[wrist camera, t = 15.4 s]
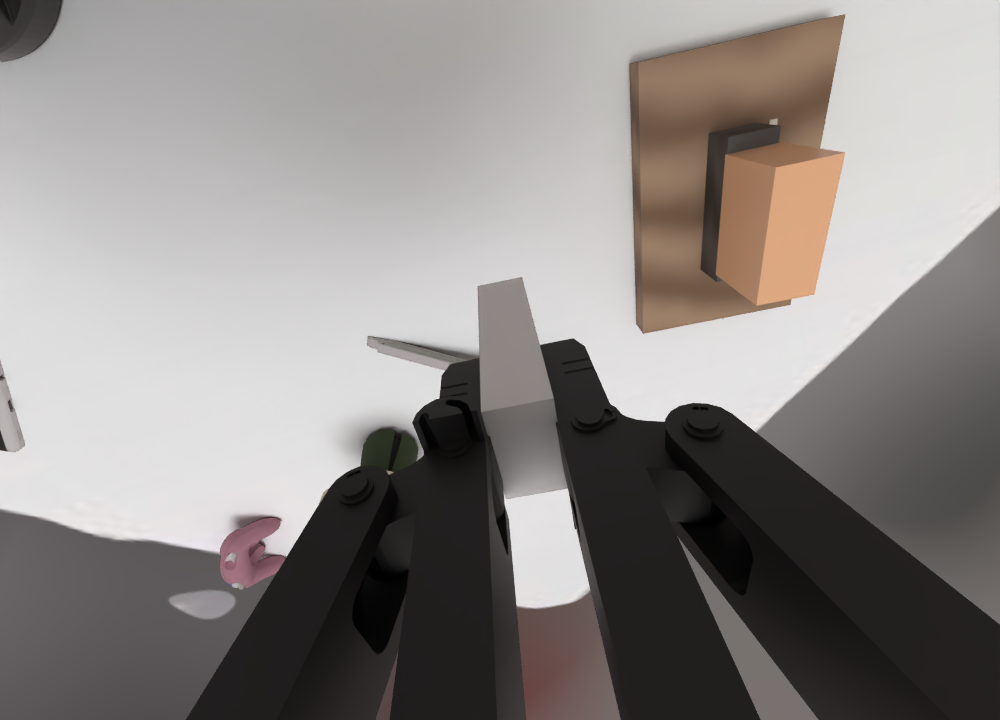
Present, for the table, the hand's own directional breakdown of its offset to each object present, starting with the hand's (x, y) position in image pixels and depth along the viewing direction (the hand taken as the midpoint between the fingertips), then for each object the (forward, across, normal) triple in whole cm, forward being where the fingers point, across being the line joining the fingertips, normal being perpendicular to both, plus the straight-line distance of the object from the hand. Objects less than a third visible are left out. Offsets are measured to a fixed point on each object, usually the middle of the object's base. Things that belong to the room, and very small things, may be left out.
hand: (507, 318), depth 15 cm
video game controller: (+25, -39, -38) cm, 60 cm away
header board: (+24, +19, -5) cm, 31 cm away
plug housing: (+19, +19, -5) cm, 28 cm away
